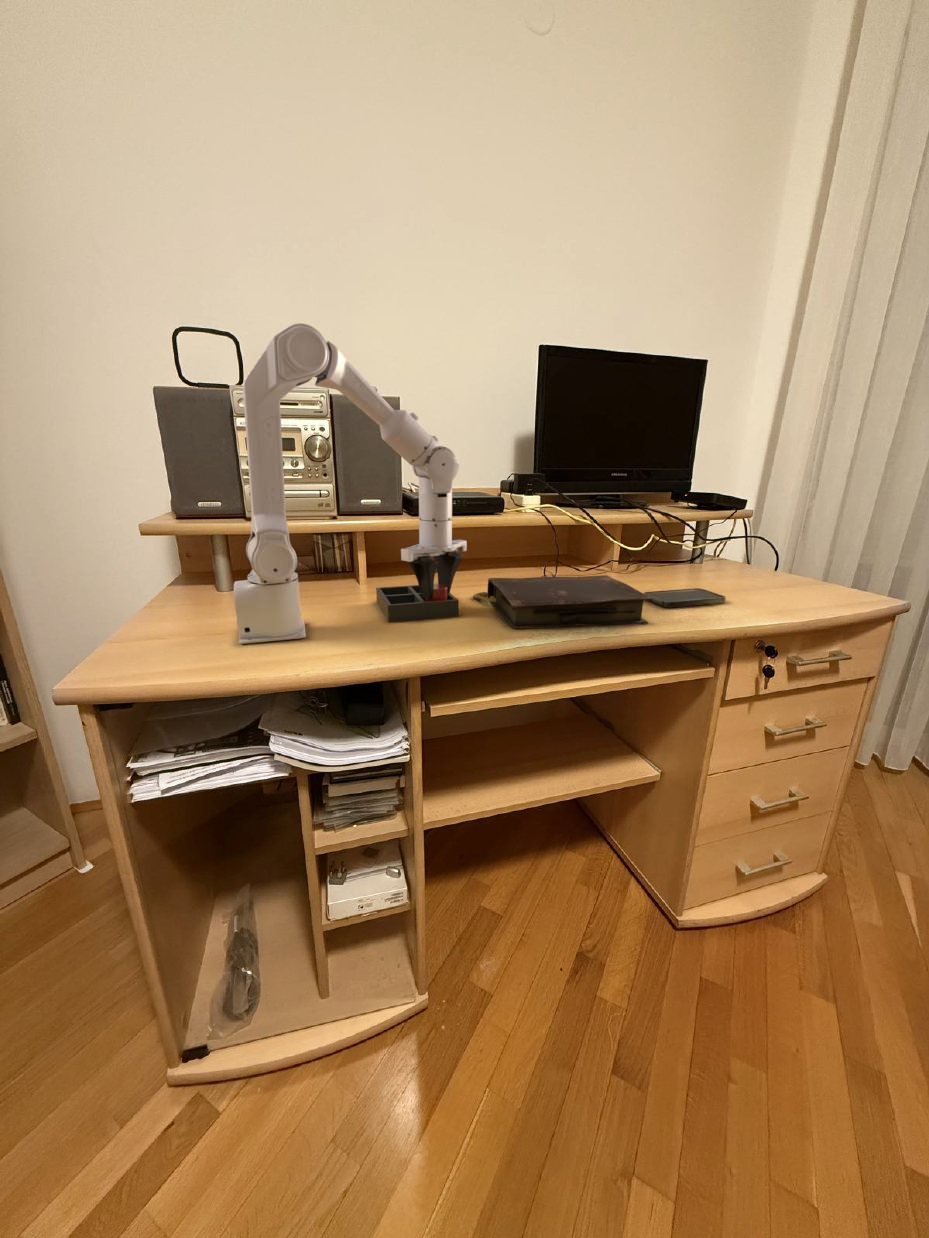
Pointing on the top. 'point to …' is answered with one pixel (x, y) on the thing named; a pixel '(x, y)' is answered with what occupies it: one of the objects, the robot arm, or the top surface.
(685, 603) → the phone
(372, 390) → the robot arm
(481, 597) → the seal
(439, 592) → the red short cylinder
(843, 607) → the top surface
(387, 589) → the tray
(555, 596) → the diary
